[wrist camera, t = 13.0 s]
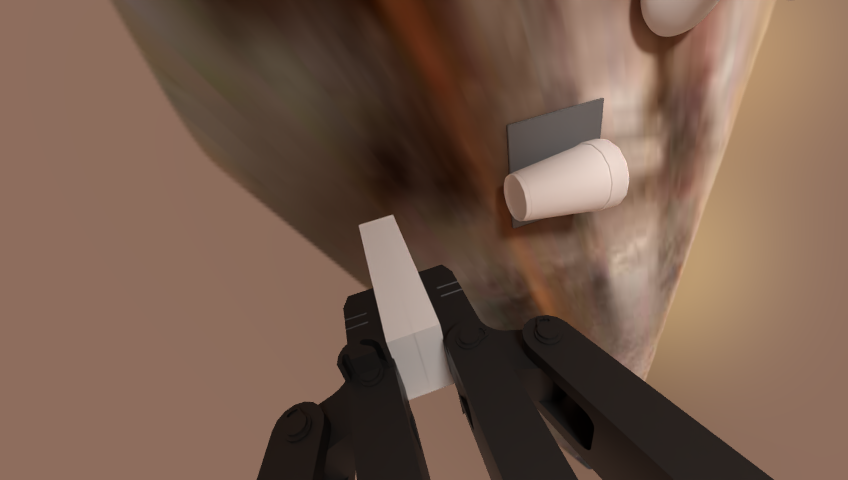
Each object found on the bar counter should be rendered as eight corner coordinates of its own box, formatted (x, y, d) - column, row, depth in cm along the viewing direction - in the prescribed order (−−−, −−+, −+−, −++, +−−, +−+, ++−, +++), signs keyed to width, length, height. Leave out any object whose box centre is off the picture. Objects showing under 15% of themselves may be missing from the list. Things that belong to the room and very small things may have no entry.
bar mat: (506, 125, 46) (507, 126, 45) (601, 98, 47) (603, 98, 47) (512, 227, 55) (513, 228, 54) (592, 201, 56) (594, 202, 56)
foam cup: (492, 175, 51) (573, 154, 53) (512, 236, 50) (593, 212, 52) (517, 151, 41) (614, 126, 43) (541, 226, 41) (639, 197, 43)
